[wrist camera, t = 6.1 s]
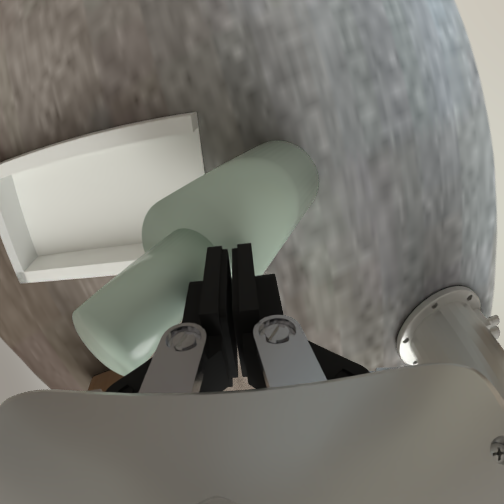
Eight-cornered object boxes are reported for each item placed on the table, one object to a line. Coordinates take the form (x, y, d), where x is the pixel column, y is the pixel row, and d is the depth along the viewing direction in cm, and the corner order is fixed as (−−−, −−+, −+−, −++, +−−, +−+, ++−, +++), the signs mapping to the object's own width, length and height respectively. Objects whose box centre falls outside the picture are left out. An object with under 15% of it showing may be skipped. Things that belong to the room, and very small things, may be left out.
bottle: (317, 141, 21) (138, 291, 7) (319, 219, 24) (193, 425, 10) (240, 141, 24) (27, 257, 9) (247, 212, 26) (85, 371, 12)
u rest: (196, 111, 22) (190, 115, 19) (215, 245, 28) (213, 265, 25) (2, 161, 22) (-19, 172, 19) (35, 265, 28) (20, 283, 25)
